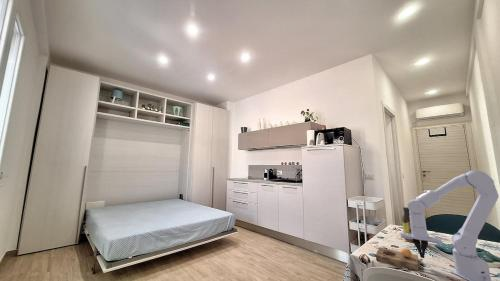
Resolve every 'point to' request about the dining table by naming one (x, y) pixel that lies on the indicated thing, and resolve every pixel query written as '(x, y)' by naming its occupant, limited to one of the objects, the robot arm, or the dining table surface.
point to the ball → (406, 252)
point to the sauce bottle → (406, 223)
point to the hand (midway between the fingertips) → (422, 257)
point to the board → (397, 258)
